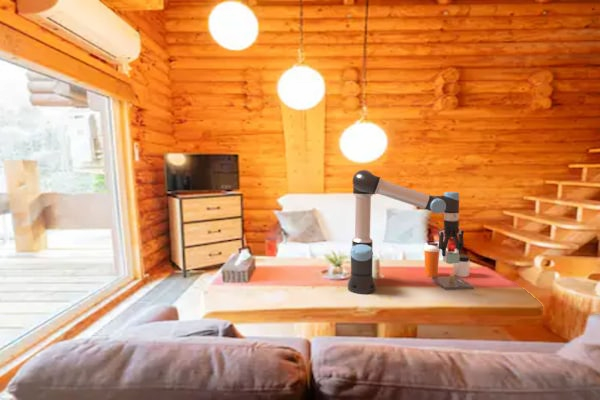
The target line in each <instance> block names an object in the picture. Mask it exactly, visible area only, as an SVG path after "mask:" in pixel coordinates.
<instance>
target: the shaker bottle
mask: <svg viewBox="0 0 600 400" xmlns="http://www.w3.org/2000/svg"><path fill="white" fill-rule="evenodd" d="M423 251H424V254H423V255H424V275H425V277H426V276H427V277H430V278H432V277H438V274H439V273H438V272H439V263H440V262H439V260H440V251H441V249H439V242H438V243H437V242H431V241H428V242H425V244H424V247H423Z"/></svg>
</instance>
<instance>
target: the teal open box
mask: <svg viewBox="0 0 600 400" xmlns="http://www.w3.org/2000/svg"><path fill="white" fill-rule="evenodd" d="M460 254H461V253H460ZM460 254H458V253H456V252H455V251H447V262H445V263H446V264H448V265H450V264H451V265H453V264H454V263H459V256H460Z"/></svg>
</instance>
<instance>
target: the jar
mask: <svg viewBox="0 0 600 400" xmlns="http://www.w3.org/2000/svg"><path fill="white" fill-rule="evenodd" d="M470 261H471V260H470V255H467V254H462V253H460V256H459V263H454V264H452V266H453V269H452V270H453V271H452V274H454V275H455V277H460V278H467V276H468V277H470V263H471V262H470Z"/></svg>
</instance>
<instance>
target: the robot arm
mask: <svg viewBox="0 0 600 400" xmlns="http://www.w3.org/2000/svg"><path fill="white" fill-rule="evenodd" d="M352 185H353V186H352V194H353V195H354V196H355V214H354V215H355V218H354V220H355V221H354V222H355V223H354V224H355V225H354V237H353V239H352V240H351V241H352V242H351V243H352V244H351V248H350V276H349V279H348V282H347V289H348V291H349V292H352V293H354V294H355V293H356V294H361V295H362V294H365V295H366V294H367V295H368V294H372V293H375V292H376V288H377V287H376V282H375V280H374V279H375V278H374V276H373V260H374V259H373V256H374V252H373V239H372V238H371V212H372V211H371V210H372V209H371V208H372V207H371V206H372V204H371V203H372V197H373V195H377V194H378V195H381V196H384V197H385V198H386V197H387V198H390V199H393V200H396V201H399V202H403V203H405V204H408V205H411V206H415V207H418V208H420V209H422V210H426V211H430V212H432V213H434V214H442V213H443V230H441V231H440V230H439V231H438V237H439V238H438V246H439V249H440V251H441V255H442V261H443V262H444V263H446V262H447V252H448V250H447V248H448V245H449V241H450V239H451V238H452V239H453V242H454V245H455V246H454V247H455V248H454V252H456V253H458V254H461V250H462V249H464V248H465V247H464V246H465V245H464V233H465V231H464V230H463V229H460V228H459V226H460V221H459V219H460V194H459V192H457V191H445V192H444V193H443V195H430V194H426V193H423V192H420V191H417V190H414V189H412V188H409V187H405V186H403V185H399V184H395V183H392V182H389V181H386V180H384V179H382V178H381V176H378V175H375V174H373V172H371V171H370V170H366V169H361V170H359V171H357V172H355V174H354V175H353V177H352Z"/></svg>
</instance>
